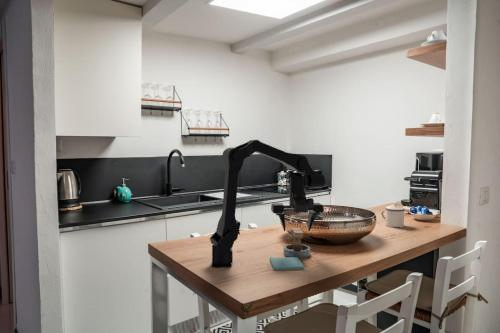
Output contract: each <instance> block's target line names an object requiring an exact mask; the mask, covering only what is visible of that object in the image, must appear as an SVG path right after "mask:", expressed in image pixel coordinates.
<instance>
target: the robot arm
mask: <svg viewBox="0 0 500 333" xmlns="http://www.w3.org/2000/svg"><path fill="white" fill-rule="evenodd" d="M254 153H257V154H260V155H262V156H265V157H267V158H270V159H272V160H274V161H277V162H279V163H281V164H282V165H283V166H284V167H286V168H288V169H289V170H288V171H287V172H286V173H285V174H284V175H283V176H284V178H289V193H288V194H289V199H288V200H289V202H288V204H289V205H284V203H282V202H277V203H276V202H273V203H271V206H270V210H271V212H272V214H275V215H276V216H278V218H279V220H280V223H281V227H282V229H283V232H286V229H287V228H286V219H285V217H286V216H285V215H286V213H284V212H285V211H294V213H308V217H307V218H308V219H307V229H308V230H307V231H308V232H309V231H310V229H311V227H312V224H313V221H314V219H315V217H316V216H317V215H320V216H321V214H322V213H325V207H324V205H323V204H321V203H320V202H315V201H314V198H313V197H308V198H307V193H306V189H309V190H310V189H322V188H324V187H325V186H326V185H325V184H326V179H325V176H324V173H323V170H321V169H315V170H313V169H312V167H311V165H310V164H309V160H308V158H307V156H305V155H303V154H298V153H291V152H286V151H284V150H281V149H279V148H276V147H274V146H271V145H269V144H267V143H264V142H262V141H260V140H259V139H250V140H248V141H247V142H245V143H241V144H240V145H238V146H237V145H236V146H234V147H227V148H226V149H224V150H223V152H222V166H223V169H224V174H225V175H224V186H223V187H224V188H223V198H222V199H223V200H222V210H221V211H222V212H221V215H220V217H219V220H218V222H217V226H216V230H215V232H214V233H213V234H212V235H211V237H209V240H210V243H211V267H212V268H224V267H225V268H226V267H227V268H228V267H232V264H233V255H234V254H233V246H234V243H235V242H236V241H237V240H238V237H239V235H241V232H240V229H241V222H240V221H239V220H237V219H236V207H237V197H238V183H239V175H240V172H241V170H242V168H243V165H244V161H245V159H247V158H249V157H251V156H252V155H253V154H254ZM294 171H296V172H294Z"/></svg>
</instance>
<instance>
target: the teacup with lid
mask: <svg viewBox="0 0 500 333" xmlns="http://www.w3.org/2000/svg"><path fill="white" fill-rule="evenodd" d="M405 210H406V209H405V207H403V206H401V205H399V204H398V203H397V202H393V203H392V204H391V205H388V206H385V209H383V210H381V212H380V215H381V218H382V219H384V221H385V223H384V224H385V226H387V227H388V226H389V228H394V227H400V228H403V227H404V226H405ZM384 213H385V215H384Z"/></svg>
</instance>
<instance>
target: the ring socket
mask: <svg viewBox="0 0 500 333" xmlns="http://www.w3.org/2000/svg"><path fill="white" fill-rule="evenodd" d="M292 249H293V243H289V244H285V245H284V246H283V255H284V256H285V257H298V258H299V259H304V258H305V259H306V258H308V257H309V258H310V257H311V247H310V246H309V245H306V244H302V243H301V250H303V251H294V250H292Z"/></svg>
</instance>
